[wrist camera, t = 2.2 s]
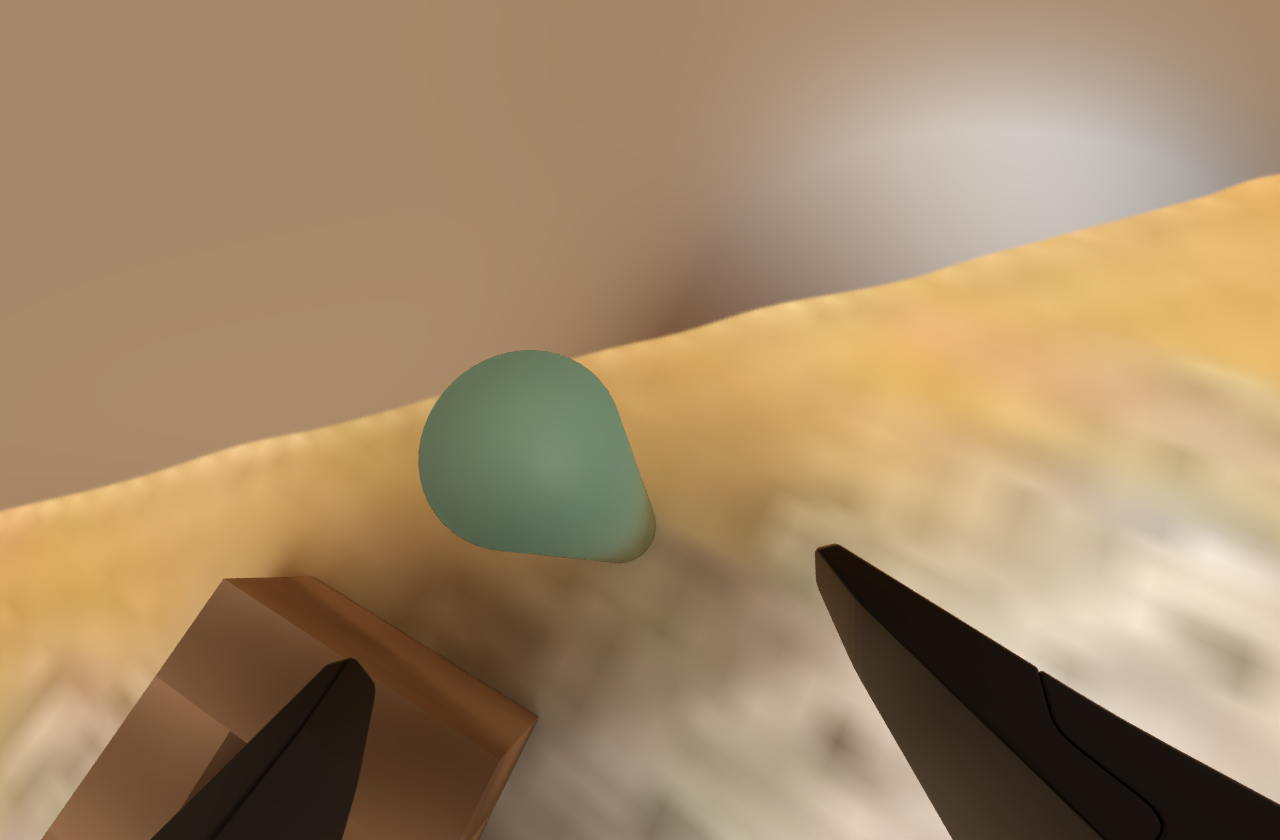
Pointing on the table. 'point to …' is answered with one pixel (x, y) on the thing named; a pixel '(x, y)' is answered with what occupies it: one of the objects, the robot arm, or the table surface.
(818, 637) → the table surface
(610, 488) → the peg
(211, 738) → the hole block
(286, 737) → the robot arm
